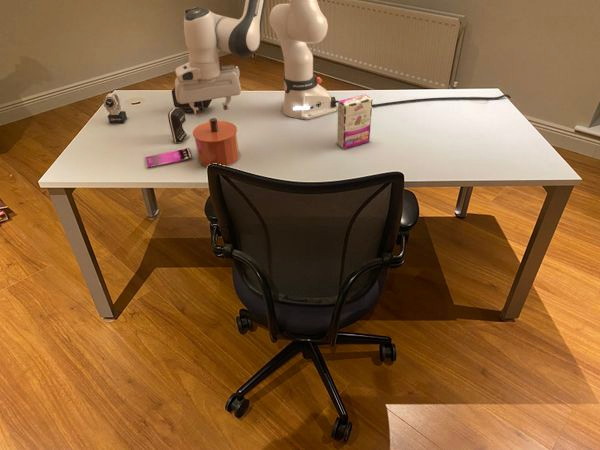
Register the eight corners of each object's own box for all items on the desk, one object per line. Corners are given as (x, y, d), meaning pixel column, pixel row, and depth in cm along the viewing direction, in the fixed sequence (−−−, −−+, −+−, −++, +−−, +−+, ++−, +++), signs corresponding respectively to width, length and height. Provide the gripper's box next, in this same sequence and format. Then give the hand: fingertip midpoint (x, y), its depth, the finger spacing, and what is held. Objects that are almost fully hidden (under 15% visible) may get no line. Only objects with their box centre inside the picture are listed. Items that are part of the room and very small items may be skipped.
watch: (108, 125, 171) (99, 98, 164) (115, 116, 178) (107, 90, 171) (122, 125, 171) (114, 98, 164) (129, 116, 177) (121, 90, 170)
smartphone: (192, 159, 150) (192, 157, 149) (148, 168, 146) (147, 166, 145) (189, 149, 155) (188, 147, 155) (146, 158, 151) (145, 155, 151)
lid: (231, 120, 153) (229, 107, 150) (242, 139, 142) (240, 125, 139) (189, 128, 149) (186, 114, 146) (197, 147, 138) (194, 133, 135)
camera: (175, 118, 178) (211, 114, 176) (167, 91, 171) (204, 87, 169) (182, 107, 186) (216, 103, 184) (174, 81, 179) (209, 77, 177)
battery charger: (183, 144, 159) (177, 114, 152) (173, 143, 159) (166, 114, 152) (189, 134, 164) (184, 106, 157) (180, 134, 165) (174, 105, 157)
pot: (233, 144, 158) (230, 120, 152) (243, 162, 148) (240, 137, 142) (195, 151, 154) (191, 127, 148) (203, 170, 145) (198, 145, 139)
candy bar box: (361, 136, 161) (365, 93, 151) (369, 142, 158) (373, 98, 147) (335, 143, 157) (337, 100, 147) (343, 149, 154) (345, 105, 143)
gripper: (236, 60, 137) (240, 102, 146) (170, 69, 131) (178, 112, 140) (241, 67, 132) (245, 110, 141) (173, 76, 127) (181, 120, 136)
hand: (211, 111), depth 141 cm, fingers open, 8 cm apart
